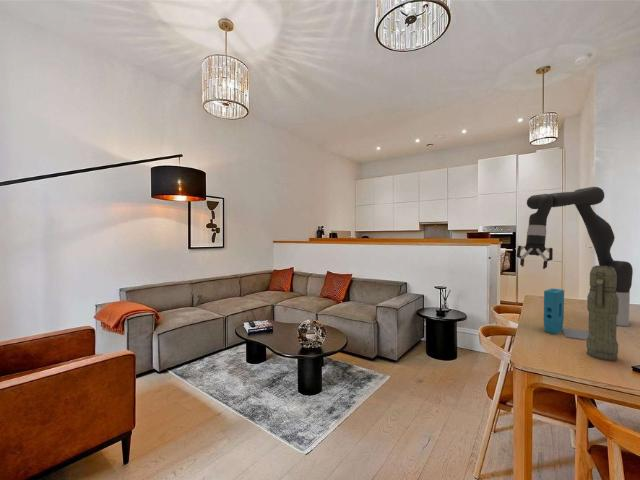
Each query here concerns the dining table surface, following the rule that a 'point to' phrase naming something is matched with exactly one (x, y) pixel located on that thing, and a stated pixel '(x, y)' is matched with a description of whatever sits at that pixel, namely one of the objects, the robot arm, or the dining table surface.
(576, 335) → the mat
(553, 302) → the block
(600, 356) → the olive green pouch
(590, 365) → the dining table surface
